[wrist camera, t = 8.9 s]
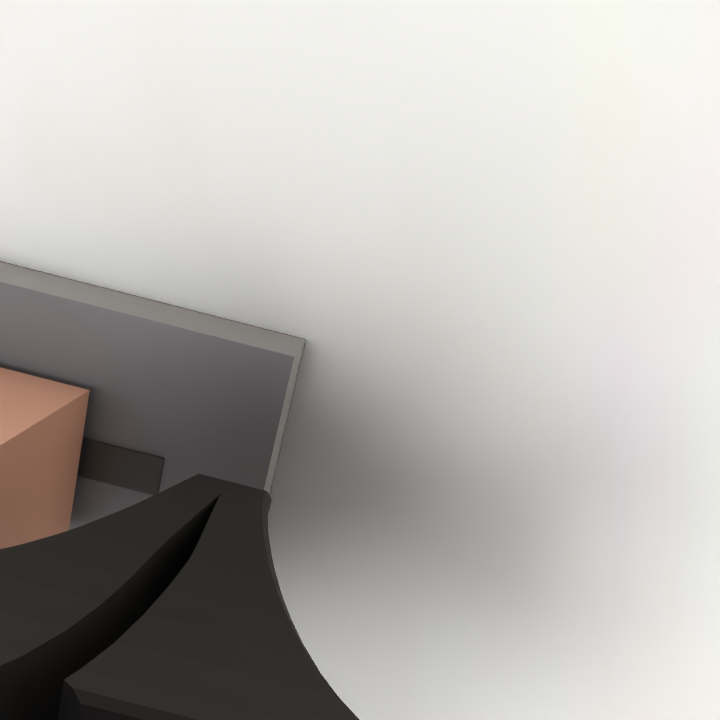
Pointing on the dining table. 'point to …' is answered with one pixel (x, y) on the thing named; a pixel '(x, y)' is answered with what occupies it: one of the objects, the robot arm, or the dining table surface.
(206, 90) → the dining table surface
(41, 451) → the fader terracotta
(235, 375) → the console
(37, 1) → the dining table surface
